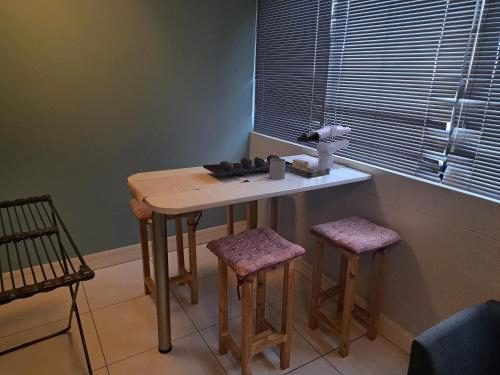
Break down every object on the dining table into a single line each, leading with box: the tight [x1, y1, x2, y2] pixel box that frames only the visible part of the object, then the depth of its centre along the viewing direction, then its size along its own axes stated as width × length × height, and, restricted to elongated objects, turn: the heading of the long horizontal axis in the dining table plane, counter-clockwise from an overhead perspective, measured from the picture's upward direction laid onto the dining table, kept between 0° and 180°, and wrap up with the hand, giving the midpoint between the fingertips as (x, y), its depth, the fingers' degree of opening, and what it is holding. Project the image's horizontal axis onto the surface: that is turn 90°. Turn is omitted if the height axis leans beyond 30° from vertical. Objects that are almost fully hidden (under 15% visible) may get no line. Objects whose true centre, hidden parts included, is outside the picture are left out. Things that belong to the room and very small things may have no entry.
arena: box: [285, 163, 331, 179], centre depth 201 cm, size 17×23×4 cm
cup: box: [268, 157, 286, 181], centre depth 188 cm, size 8×8×10 cm
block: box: [291, 158, 310, 170], centre depth 206 cm, size 4×9×5 cm, turn 38°
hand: (302, 139), depth 194 cm, fingers open, 7 cm apart
